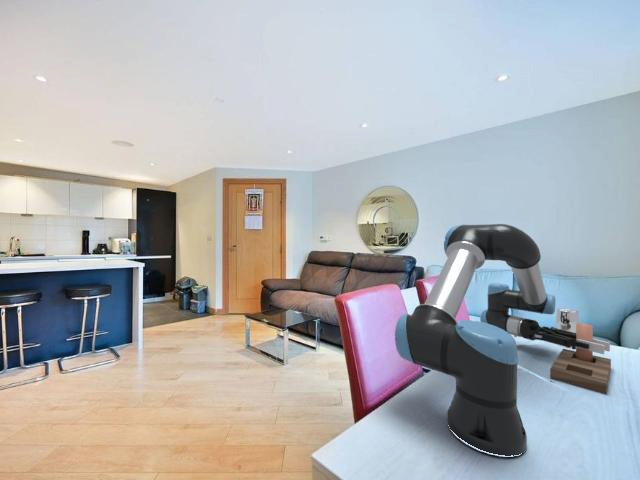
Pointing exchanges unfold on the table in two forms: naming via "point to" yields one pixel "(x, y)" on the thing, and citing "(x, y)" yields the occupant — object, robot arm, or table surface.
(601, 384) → the hole board
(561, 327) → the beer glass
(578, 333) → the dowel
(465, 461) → the table surface
